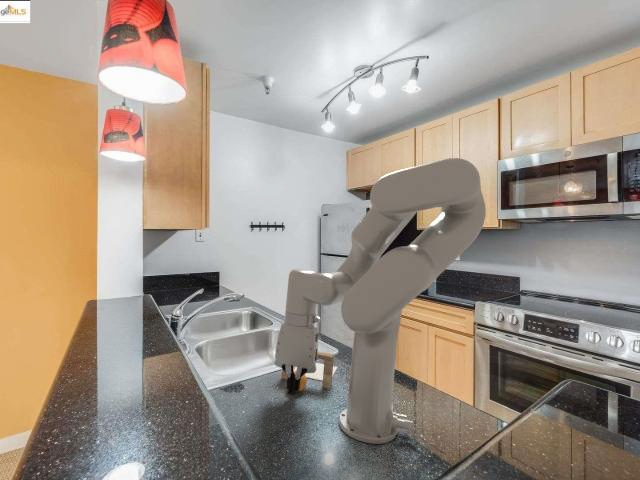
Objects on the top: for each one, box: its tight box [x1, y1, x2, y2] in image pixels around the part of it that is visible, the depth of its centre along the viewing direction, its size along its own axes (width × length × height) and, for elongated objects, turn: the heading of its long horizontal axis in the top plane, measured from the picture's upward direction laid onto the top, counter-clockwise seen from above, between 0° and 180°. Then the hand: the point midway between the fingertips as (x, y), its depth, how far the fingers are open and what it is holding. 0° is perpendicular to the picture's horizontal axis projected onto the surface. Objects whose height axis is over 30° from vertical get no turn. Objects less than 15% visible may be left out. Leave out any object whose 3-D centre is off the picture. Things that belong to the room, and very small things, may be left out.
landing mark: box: [294, 362, 339, 382], centre depth 95 cm, size 12×12×1 cm
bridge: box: [281, 350, 335, 390], centre depth 87 cm, size 3×14×9 cm, turn 75°
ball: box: [294, 371, 308, 392], centre depth 81 cm, size 5×5×5 cm
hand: (292, 392), depth 77 cm, fingers closed
